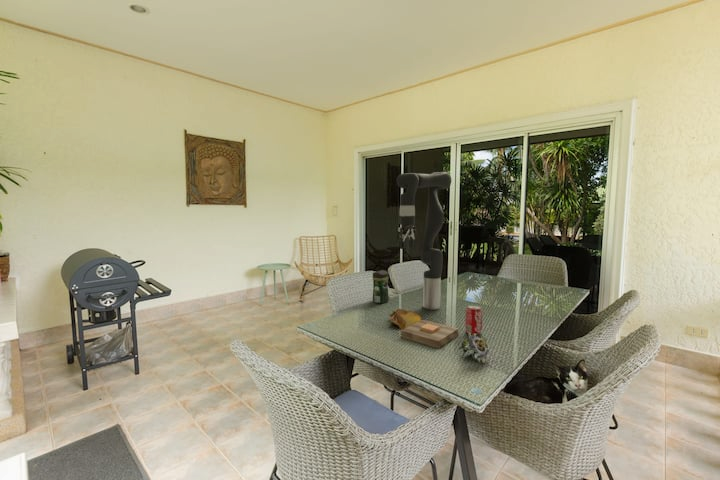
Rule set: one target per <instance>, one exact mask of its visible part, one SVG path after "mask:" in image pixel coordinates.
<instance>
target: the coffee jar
mask: <svg viewBox="0 0 720 480" xmlns="http://www.w3.org/2000/svg"><path fill="white" fill-rule="evenodd" d="M372 280H373V281H372V282H373V283H372V285H373V287H372V288H373V289H372V302H373V303H374V304H383V303H386V302H388V301H389V300H390V299H389V272H388V270H383V269H382V270H378V271H373V272H372Z"/></svg>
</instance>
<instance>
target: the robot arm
mask: <svg viewBox="0 0 720 480" xmlns="http://www.w3.org/2000/svg"><path fill="white" fill-rule="evenodd" d="M451 184H452V176H451V174H450V173H449V172H445V171H440V172H439V171H436V172H435V171H434V172H432V173H415V172H409V173H400V174H399V175H398V176H397V177H396V185H397V186H398V187H399V188H401V189H407V190H406V192H404V193H401V194H400V196H399V200H400V201H399V220H398V221H399V223H398V224H399V225H400V227H396V240H397V241H399V250H405V240H406V238H407V237H408V239H409V240H408V242H409V243H408V244H409V245H408V246H409V248H414V247H415V239H416V238H417V237H418V236H417V235H418V233H417V230H418V229H417V225H415V224H416V207H415V205H416V204H415V201H416V199H415V198H416V194H417V190H418V189H419V188H420V189H421V188H428V193H427V194H428V196H427V200H428V201H427V210H426V218H425V229H424V238H423V242H422V247H421V253H420V260H421V262H422V264H425V265H429V266H430V268H429V270H425V271H424V272H423V289H422V290H423V293H422V294H423V296H422V297H423V299H422V307H423V308H424V309H427V310H431V311H432V310H439V309H440V308H441V278H442V277H441V275H442V273H443V262H444V255H443V252H442V250H441V249H438V248H434V242H435V239H436V237H437V235H438V234H439V232H440V231H441V230H442V228H443V225H444V214H445V212H444V209H443V207H442V205H441V204H440V201H439V197H438V190H446V189H448V188H450V187H451ZM414 225H415V226H414Z"/></svg>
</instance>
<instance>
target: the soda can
mask: <svg viewBox="0 0 720 480" xmlns="http://www.w3.org/2000/svg"><path fill="white" fill-rule="evenodd" d="M481 307H482V306H480V305H476V304H469V305H467V308H466V309H465V320H464V321H465V325H464V326H465V332H466V333H467V334H468V332H469V333H470V334H472V336H473V335H474V334H476V336H478V335H480V334H481V333H482V330H483V310H482V308H481Z"/></svg>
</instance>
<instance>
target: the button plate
mask: <svg viewBox="0 0 720 480" xmlns="http://www.w3.org/2000/svg"><path fill="white" fill-rule="evenodd" d="M427 323H428V324H432V325H436V326H439V330H438V331H437V332H435V333H429V332H425V331H422V330H420V327H421V326H423V325H425V324H427ZM400 330H401V331H400V338H403V339H406V340H409V341H414V342H416V343H419V344H424V345H426V346H430V347H433V348H436V349H440V348H442V347H443V346H444V345H446V344H447V343H449V342H450V341H452V340H453V339H455V338H456V337H458V336H459V328H457V327H452V326H449V325H447V324H446V325H445V324H440V323H437V322H433V321H429V320H424V319H421V321H419V322H417V323H415V324H413V325H411V326H409V327H407V328H405V329H403V330H402V329H400Z"/></svg>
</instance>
